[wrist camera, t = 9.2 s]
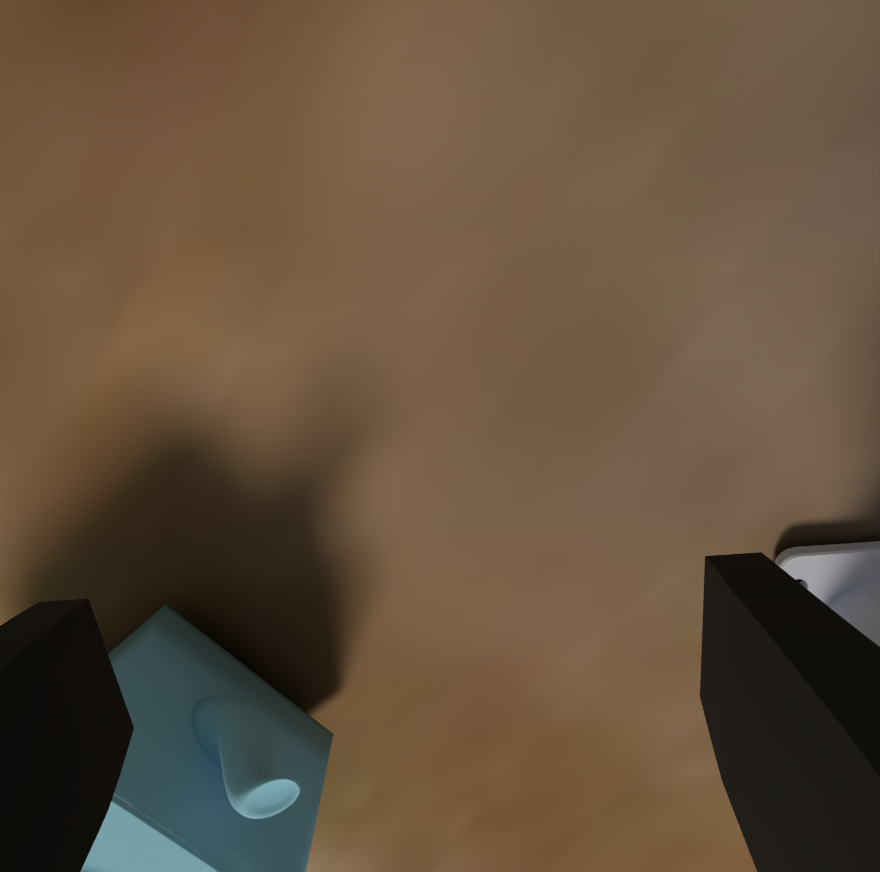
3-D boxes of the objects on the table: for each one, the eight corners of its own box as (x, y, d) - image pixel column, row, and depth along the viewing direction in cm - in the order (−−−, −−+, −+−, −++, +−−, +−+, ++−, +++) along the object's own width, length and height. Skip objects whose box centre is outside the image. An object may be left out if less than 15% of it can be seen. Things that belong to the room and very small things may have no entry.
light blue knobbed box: (259, 510, 21) (159, 730, 14) (421, 650, 23) (399, 903, 16) (-1, 736, 25) (-176, 995, 18) (155, 841, 27) (48, 1111, 20)
